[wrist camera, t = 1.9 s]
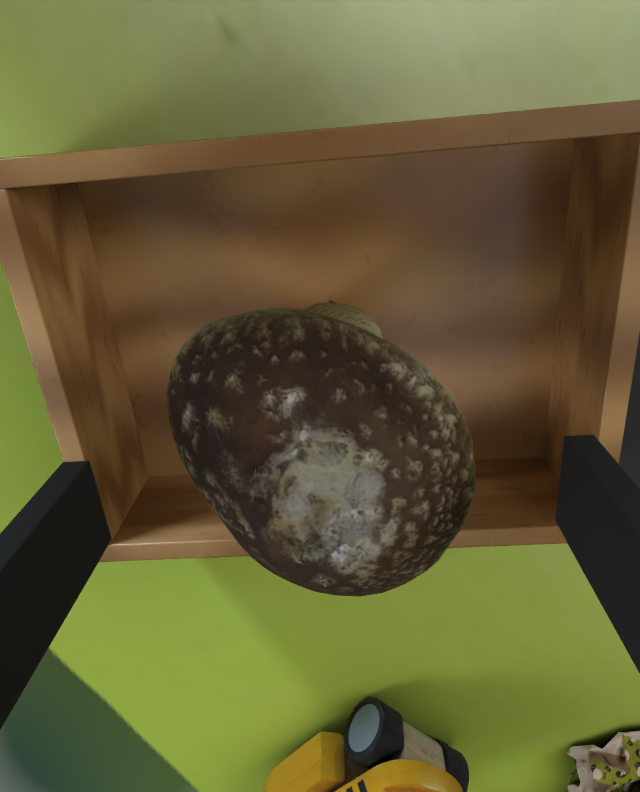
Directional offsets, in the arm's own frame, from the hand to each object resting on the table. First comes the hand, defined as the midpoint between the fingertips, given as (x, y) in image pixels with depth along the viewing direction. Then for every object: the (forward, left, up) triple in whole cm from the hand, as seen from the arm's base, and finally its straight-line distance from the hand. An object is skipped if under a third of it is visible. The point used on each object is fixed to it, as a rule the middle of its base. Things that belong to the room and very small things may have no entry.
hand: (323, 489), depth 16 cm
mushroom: (0, 0, -14) cm, 14 cm away
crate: (0, 0, -14) cm, 14 cm away
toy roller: (+33, 0, -14) cm, 36 cm away
